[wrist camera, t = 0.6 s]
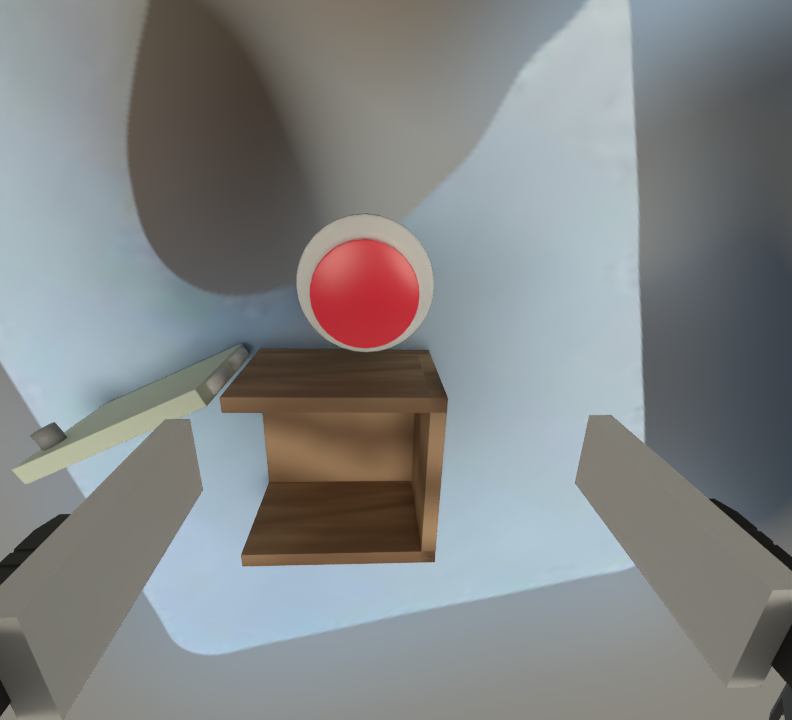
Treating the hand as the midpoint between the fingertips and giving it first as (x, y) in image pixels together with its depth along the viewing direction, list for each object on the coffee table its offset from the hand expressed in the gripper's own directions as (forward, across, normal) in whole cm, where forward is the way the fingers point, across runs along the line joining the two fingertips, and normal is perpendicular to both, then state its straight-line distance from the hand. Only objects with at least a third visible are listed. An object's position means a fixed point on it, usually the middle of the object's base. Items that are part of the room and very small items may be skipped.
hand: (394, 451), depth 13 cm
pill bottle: (+20, -1, +3) cm, 20 cm away
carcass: (+19, -3, -10) cm, 22 cm away
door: (+19, -17, -5) cm, 26 cm away
